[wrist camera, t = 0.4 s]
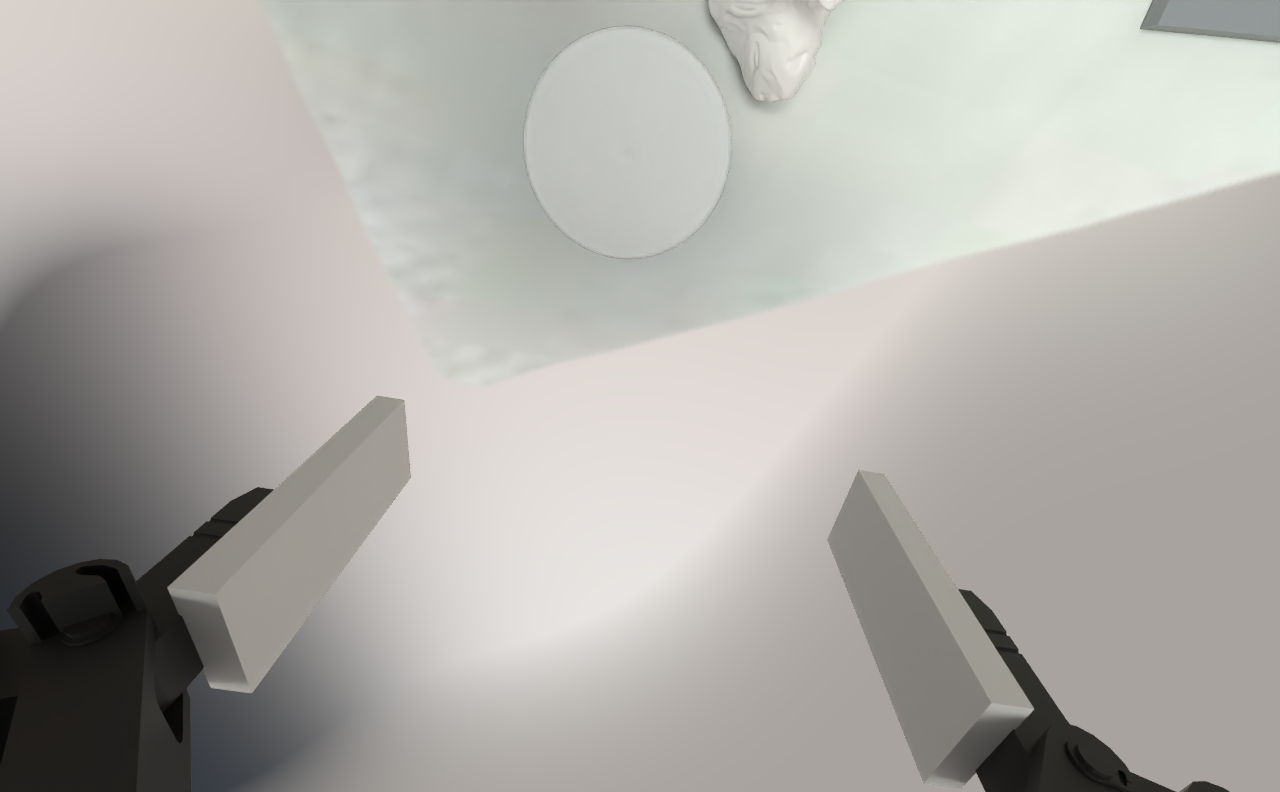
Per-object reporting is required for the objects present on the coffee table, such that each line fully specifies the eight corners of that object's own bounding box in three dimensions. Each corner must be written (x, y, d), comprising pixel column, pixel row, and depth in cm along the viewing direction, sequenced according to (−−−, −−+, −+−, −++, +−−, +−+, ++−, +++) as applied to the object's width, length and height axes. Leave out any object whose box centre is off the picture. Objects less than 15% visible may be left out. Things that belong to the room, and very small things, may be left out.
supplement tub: (557, 77, 33) (487, 39, 20) (700, 47, 32) (724, -13, 19) (588, 227, 37) (547, 277, 24) (715, 206, 36) (743, 245, 23)
